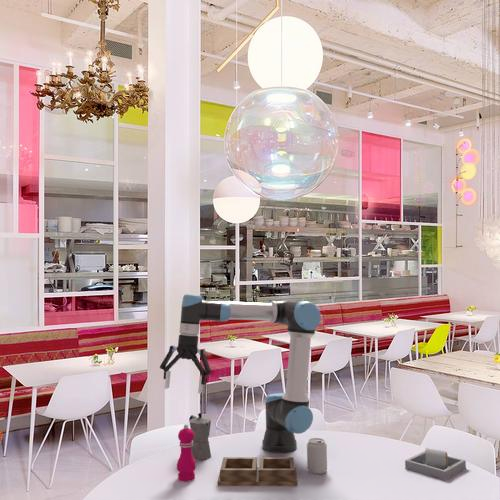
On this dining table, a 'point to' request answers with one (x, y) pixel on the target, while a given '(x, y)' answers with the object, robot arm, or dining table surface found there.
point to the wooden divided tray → (257, 472)
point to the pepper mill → (186, 455)
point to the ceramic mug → (436, 458)
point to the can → (317, 456)
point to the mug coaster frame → (416, 465)
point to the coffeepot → (200, 437)
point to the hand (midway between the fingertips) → (183, 390)
